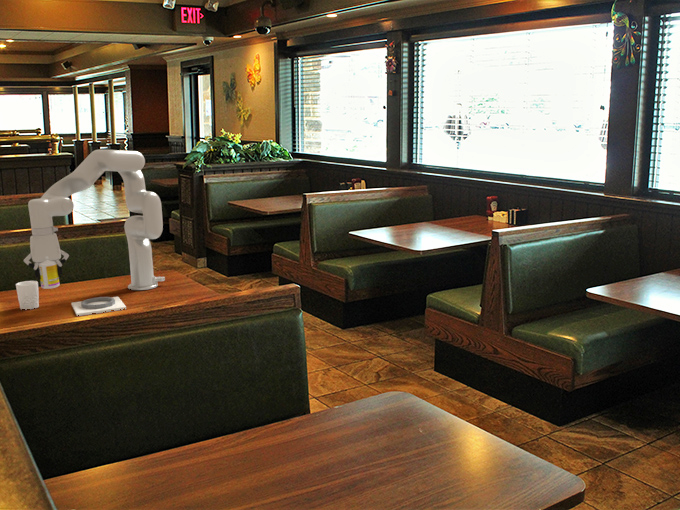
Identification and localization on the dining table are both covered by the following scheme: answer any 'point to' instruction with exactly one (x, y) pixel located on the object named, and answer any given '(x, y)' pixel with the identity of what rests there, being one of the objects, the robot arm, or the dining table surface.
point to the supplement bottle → (48, 274)
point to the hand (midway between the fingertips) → (49, 277)
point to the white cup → (28, 294)
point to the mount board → (98, 305)
